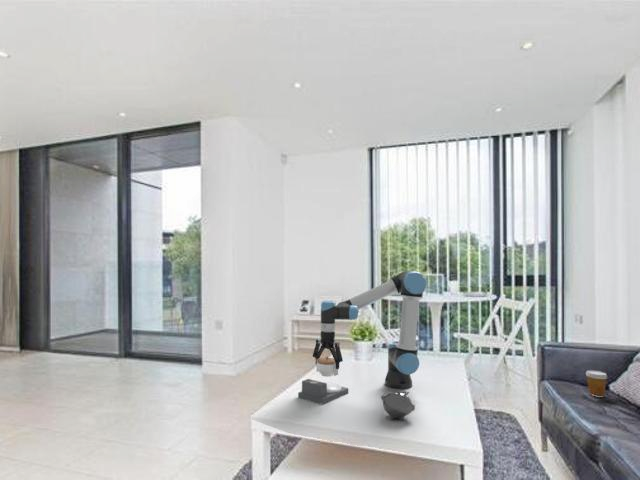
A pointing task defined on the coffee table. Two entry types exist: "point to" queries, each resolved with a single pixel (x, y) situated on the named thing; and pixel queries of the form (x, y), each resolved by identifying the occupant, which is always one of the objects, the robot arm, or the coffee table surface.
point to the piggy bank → (397, 404)
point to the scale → (321, 391)
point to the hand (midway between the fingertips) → (327, 373)
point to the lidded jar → (326, 366)
